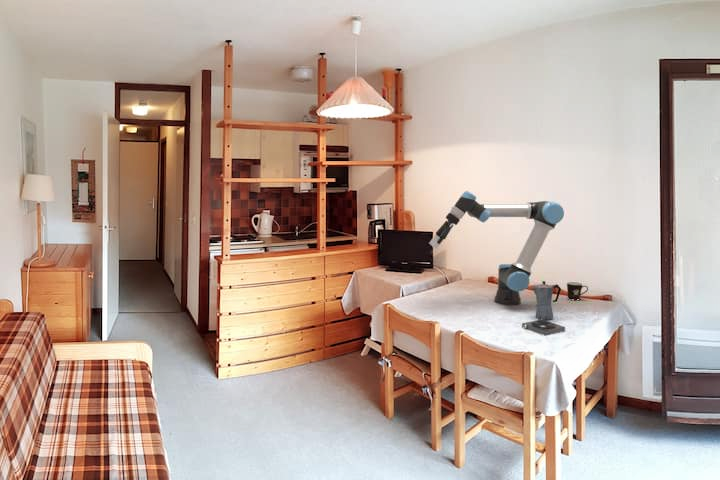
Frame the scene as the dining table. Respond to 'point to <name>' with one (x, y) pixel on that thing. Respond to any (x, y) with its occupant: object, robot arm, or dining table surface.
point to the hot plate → (543, 327)
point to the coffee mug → (574, 290)
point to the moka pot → (545, 300)
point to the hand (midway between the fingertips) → (432, 246)
